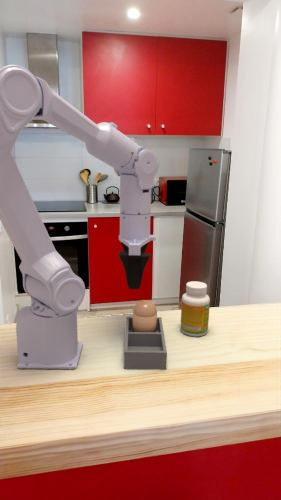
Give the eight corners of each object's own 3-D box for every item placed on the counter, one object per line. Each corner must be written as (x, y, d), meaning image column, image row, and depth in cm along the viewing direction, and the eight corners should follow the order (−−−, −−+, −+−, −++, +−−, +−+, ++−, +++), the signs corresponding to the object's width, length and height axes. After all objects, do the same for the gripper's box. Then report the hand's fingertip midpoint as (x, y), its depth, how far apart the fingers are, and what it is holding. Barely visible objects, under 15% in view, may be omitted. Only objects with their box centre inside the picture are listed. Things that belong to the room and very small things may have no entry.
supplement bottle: (207, 338, 68) (210, 290, 66) (178, 335, 69) (181, 288, 67) (208, 326, 73) (211, 281, 71) (181, 323, 74) (183, 278, 72)
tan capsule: (132, 342, 65) (133, 305, 63) (132, 331, 69) (133, 296, 68) (156, 343, 65) (158, 306, 64) (155, 331, 70) (156, 296, 68)
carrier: (124, 368, 58) (124, 352, 57) (126, 330, 71) (126, 316, 70) (166, 369, 58) (166, 352, 57) (160, 331, 71) (161, 317, 70)
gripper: (159, 219, 60) (156, 295, 64) (154, 207, 75) (152, 270, 78) (116, 218, 60) (116, 294, 64) (120, 207, 74) (120, 270, 78)
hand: (134, 281), depth 71 cm, fingers open, 7 cm apart
